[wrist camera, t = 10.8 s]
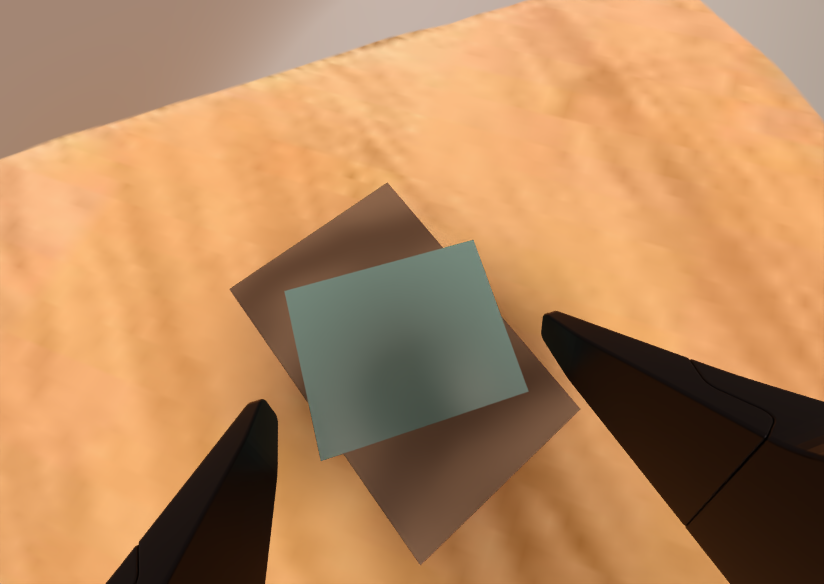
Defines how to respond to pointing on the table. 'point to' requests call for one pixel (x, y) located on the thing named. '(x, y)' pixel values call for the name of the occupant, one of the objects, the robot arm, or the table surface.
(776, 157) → the table surface
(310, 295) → the seafoam square prism
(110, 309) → the table surface
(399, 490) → the stud board
